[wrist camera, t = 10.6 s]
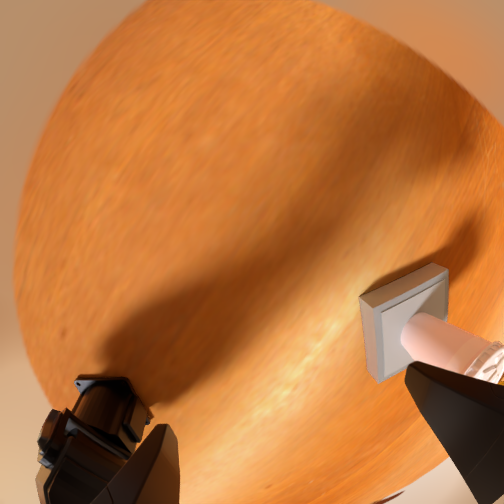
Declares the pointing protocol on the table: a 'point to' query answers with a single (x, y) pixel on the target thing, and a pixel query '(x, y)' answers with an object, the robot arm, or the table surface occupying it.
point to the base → (400, 316)
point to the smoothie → (452, 348)
